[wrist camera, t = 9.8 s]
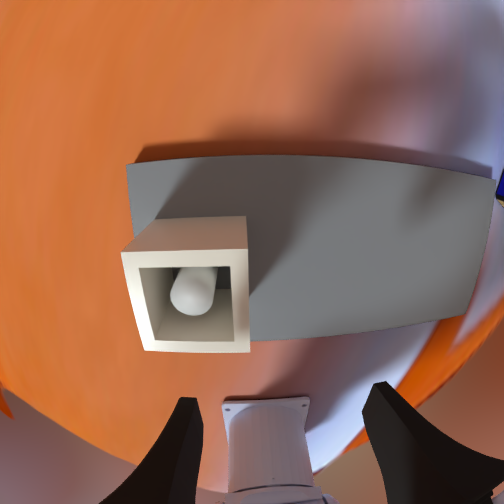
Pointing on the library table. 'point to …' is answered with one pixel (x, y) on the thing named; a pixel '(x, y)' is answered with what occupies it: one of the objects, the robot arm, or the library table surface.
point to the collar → (161, 282)
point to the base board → (327, 238)
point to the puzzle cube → (501, 191)
